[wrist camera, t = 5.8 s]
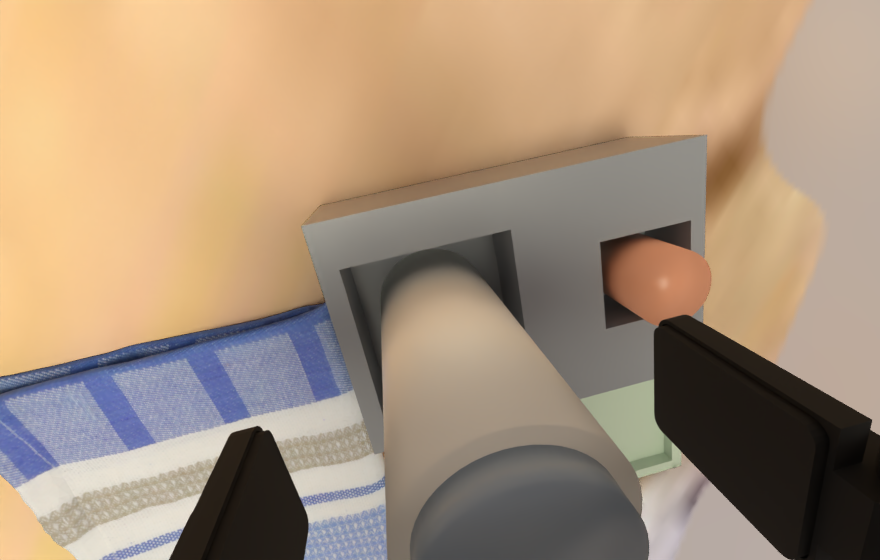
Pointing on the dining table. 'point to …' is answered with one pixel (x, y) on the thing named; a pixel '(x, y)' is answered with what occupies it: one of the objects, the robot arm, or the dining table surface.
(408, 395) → the cylinder
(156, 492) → the dish towel
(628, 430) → the tray
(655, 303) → the plunger
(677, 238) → the housing
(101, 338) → the dining table surface
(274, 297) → the dining table surface
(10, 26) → the dining table surface
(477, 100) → the dining table surface
